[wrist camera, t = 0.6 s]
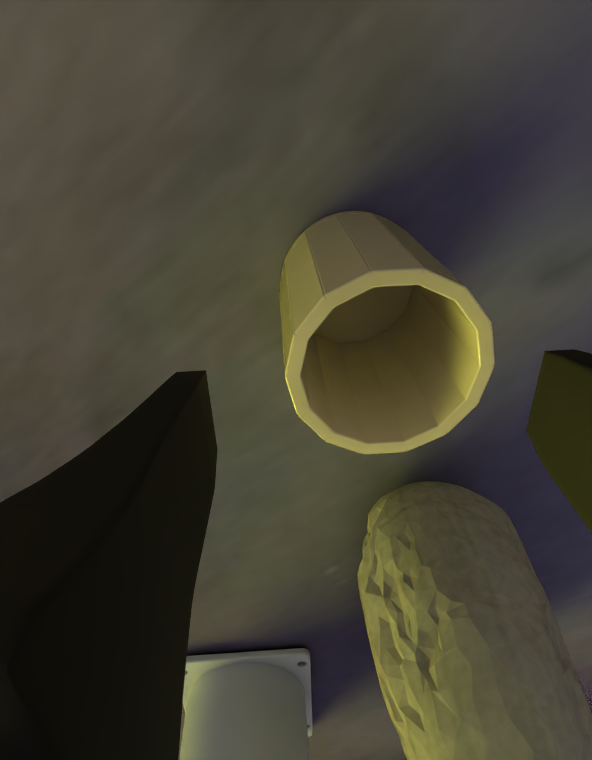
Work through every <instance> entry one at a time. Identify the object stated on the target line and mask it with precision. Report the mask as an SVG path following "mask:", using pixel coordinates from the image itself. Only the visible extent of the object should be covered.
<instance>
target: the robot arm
mask: <svg viewBox="0 0 592 760" xmlns="http://www.w3.org/2000/svg"><path fill="white" fill-rule="evenodd" d="M526 431H527V433H528V435H529V437H530V439H531V441H532V443H533V445H534V447H535V450H536V452H537V453H538V455H539V457H540V459H541V461H542V463H543V465H544V466H545V468H546V470H547V471H548V473H549V474H550V476H551V477H552V478H553V480H554V481H555V483H556V484H557V486H558V487H559V488H560V490H561V491H562V493H563V494H564V495H565V497H566V498H567V500H568V501H569V502H570V504H571V505H572V506H573V508H574V509H575V511H576V512H577V513H578V515H579V516H580V517H581V519H582V520H583V522H584V523H585V524H586V526H587V527H588V528H589V530H590V531H591V533H592V354H590V353H586V352H582V351H578V350H555V351H545V353H544V357H543V361H542V365H541V370H540V374H539V378H538V383H537V387H536V391H535V395H534V400H533V404H532V408H531V412H530V417H529V421H528V425H527V429H526ZM216 461H217V444H216V437H215V431H214V424H213V417H212V410H211V403H210V396H209V389H208V383H207V376H206V370H205V371H188V372H176V373H175V374H174V375H172V376H171V377H170V378H169V379H168V380H167V381H166V382H165V383H164V384H162V385H161V386H160V387H159V388H158V389H157V390H156V391H155V392H154V393H153V394H152V395H151V396H150V397H148V398H147V399H146V400H145V401H144V402H143V403H142V404H141V405H140V406H138V407H137V408H136V409H135V410H134V411H133V412H132V413H131V414H130V415H128V416H127V417H126V418H125V419H124V420H123V421H121V422H120V423H119V424H118V425H116V426H115V427H114V428H113V429H111V430H110V431H109V432H108V433H106V434H105V435H104V436H103V437H101V438H100V439H99V440H98V441H96V442H95V443H94V444H93V445H91V446H90V447H89V448H87V449H86V450H85V451H83V452H82V453H81V454H79V455H78V456H76V457H75V458H73V459H72V460H71V461H69V462H68V463H66V464H64V465H63V466H61V467H60V468H58V469H57V470H55V471H54V472H52V473H51V474H49V475H48V476H46V477H44V478H43V479H41V480H40V481H38V482H36V483H34V484H33V485H31V486H29V487H27V488H26V489H24V490H22V491H20V492H18V493H17V494H15V495H13V496H11V497H9V498H8V499H6V500H4V501H2V502H0V760H178V754H179V741H180V728H181V714H182V702H183V705H184V709H185V713H186V714H185V721H184V729H183V736H182V744H181V751H180V759H179V760H309V749H308V737H310V736H311V735H312V733H313V726H312V697H311V668H310V652H309V650H307V649H305V648H294V649H279V650H265V651H251V652H236V653H222V654H208V655H193V656H187V647H188V637H189V627H190V617H191V608H192V600H193V594H194V588H195V582H196V577H197V572H198V567H199V563H200V558H201V553H202V548H203V543H204V538H205V534H206V529H207V524H208V519H209V514H210V509H211V504H212V499H213V494H214V489H215V476H216Z"/></svg>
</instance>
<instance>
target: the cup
mask: <svg viewBox="0 0 592 760" xmlns="http://www.w3.org/2000/svg"><path fill="white" fill-rule="evenodd" d="M279 292H280V308H281V324H282V339H283V355H284V371H285V379H286V383H287V386H288V389H289V392H290V395H291V398H292V401H293V405H294V408H295V411H296V413H297V415H298V416H299V417H300V418H301V419H302V420H303V421H304V422H305V423H306V424H307V425H308V426H309V427H311V428H312V429H313V430H314V431H315V432H316V433H317V434H318V435H319V436H320V437H321V438H322V439H323V440H324V441H326V442H328V443H331V444H334V445H337V446H340V447H343V448H346V449H349V450H352V451H355V452H358V453H361V454H379V453H396V452H406V451H409V450H412V449H414V448H416V447H419V446H421V445H423V444H426V443H428V442H430V441H433V440H435V439H437V438H440V437H442V436H444V435H446V434H447V433H449V432H450V431H451V430H452V429H453V428H454V427H455V426H456V425H457V424H458V423H459V422H460V421H461V420H462V419H463V418H464V417H465V416H466V415H467V414H468V413H470V412H471V411H472V410H473V409H474V408H475V407H476V406H477V404H478V403H479V401H480V399H481V396H482V394H483V392H484V390H485V387H486V385H487V383H488V380H489V378H490V376H491V373H492V371H493V369H494V365H495V356H494V342H493V328H492V323H491V320H490V319H489V318H488V316H487V315H486V313H485V312H484V310H483V309H482V308H481V306H480V305H479V303H478V302H477V301H476V299H475V298H474V296H473V295H472V293H471V292H470V291H469V289H468V288H467V287H466V286H465V285H464V284H462V283H461V282H460V281H459V280H458V279H457V278H456V277H455V276H454V275H453V274H452V273H451V272H449V271H448V270H447V269H446V268H445V267H444V266H443V265H442V264H441V263H440V262H439V261H438V260H436V259H435V258H434V257H433V256H432V255H431V254H430V253H429V252H428V251H427V250H426V249H425V248H423V247H422V246H421V245H420V244H419V243H418V242H417V241H416V240H415V239H414V238H413V237H412V236H410V235H409V234H408V233H407V232H406V231H405V230H404V229H403V228H402V227H400V226H399V225H396V224H394V223H393V222H391V221H390V220H388V219H386V218H384V217H382V216H380V215H377V214H374V213H370V212H364V211H346V212H340V213H336V214H332V215H330V216H327V217H325V218H322V219H321V220H319V221H317V222H315V223H314V224H312V225H311V226H310V227H308V228H307V229H306V230H305V231H304V232H303V233H302V234H301V235H300V236H299V237H298V238H297V239H296V241H295V242H294V243H293V245H292V246H291V248H290V250H289V251H288V254H287V256H286V258H285V261H284V264H283V268H282V273H281V284H280V289H279Z"/></svg>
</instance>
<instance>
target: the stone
mask: <svg viewBox="0 0 592 760" xmlns="http://www.w3.org/2000/svg"><path fill="white" fill-rule="evenodd" d="M367 528H368V533H367V535H366V536H365V538H364V541H363V550H362V553H363V558H362V560H361V563H360V566H359V569H358V573H357V578H358V586H359V593H360V599H361V603H362V607H363V612H364V617H365V623H366V628H367V633H368V638H369V642H370V646H371V650H372V654H373V658H374V662H375V667H376V671H377V675H378V679H379V683H380V687H381V691H382V694H383V697H384V701H385V704H386V706H387V709H388V712H389V715H390V717H391V720H392V722H393V724H394V726H395V728H396V730H397V733H398V735H399V738H400V740H401V743H402V747H403V751H404V754H405V756H406V758H407V760H592V713H591V710H590V707H589V705H588V702H587V699H586V697H585V694H584V692H583V690H582V687H581V685H580V683H579V680H578V678H577V675H576V673H575V670H574V668H573V665H572V663H571V660H570V657H569V653H568V650H567V647H566V645H565V642H564V640H563V637H562V635H561V632H560V629H559V627H558V624H557V622H556V619H555V617H554V614H553V611H552V609H551V606H550V604H549V601H548V599H547V596H546V593H545V591H544V588H543V587H542V586H541V584H540V582H539V580H538V578H537V576H536V574H535V572H534V569H533V567H532V565H531V562H530V560H529V558H528V555H527V553H526V551H525V548H524V545H523V543H522V541H521V540H520V538H519V536H518V534H517V531H516V529H515V527H514V525H513V524H512V522H511V520H510V518H509V516H508V514H507V513H506V512H505V511H504V510H503V509H502V508H501V507H500V506H498V505H497V504H495V503H493V502H491V501H489V500H488V499H486V498H484V497H482V496H481V495H479V494H477V493H475V492H472V491H470V490H468V489H466V488H464V487H461V486H457V485H454V484H450V483H444V482H434V481H423V482H415V483H410V484H407V485H404V486H401V487H399V488H396V489H394V490H392V491H391V492H389V493H387V494H386V495H384V496H382V497H381V498H380V499H379V500H378V501H377V502H376V503H375V505H374V506H373V508H372V509H371V511H370V512H369V514H368V524H367Z"/></svg>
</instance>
